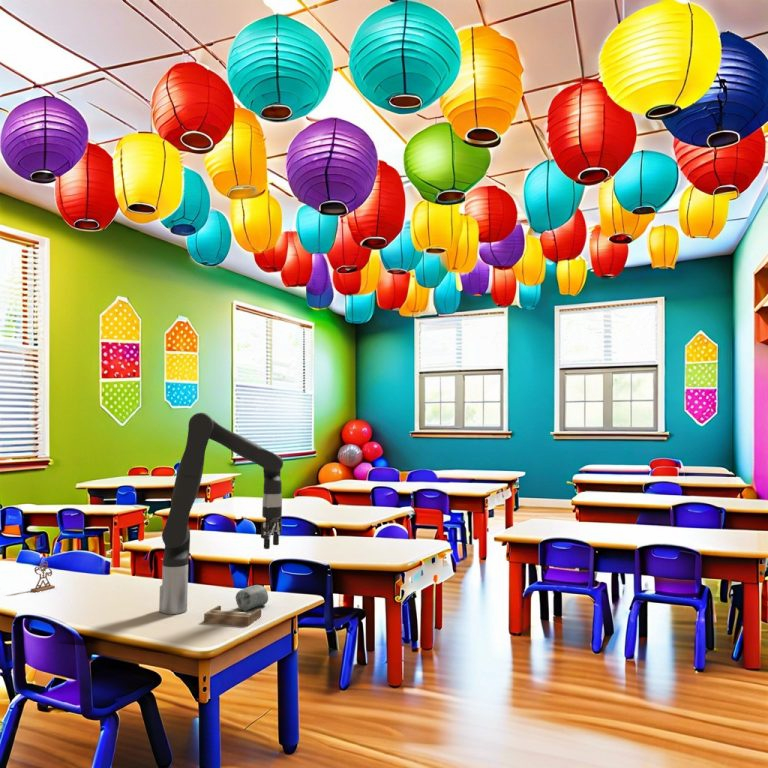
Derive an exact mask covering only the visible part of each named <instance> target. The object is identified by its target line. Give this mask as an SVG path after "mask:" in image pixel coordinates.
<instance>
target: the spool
mask: <svg viewBox="0 0 768 768" xmlns="http://www.w3.org/2000/svg"><path fill="white" fill-rule="evenodd" d="M268 593H269V592H268V591H267V589H266V587H265V586H263V585H260V584H254V585H251V586H247V587H245V588H243V589H241V590H239V591H237V592H236V595H235V602H236V605H237V607H238V608H239V609H240V610H241V611H242V612H243V611H244V612H246V611H247V612H248V611H249V610H251V609H254V608H259V607H262V606H264V605H266V604H267V603H268V601H269V594H268Z"/></svg>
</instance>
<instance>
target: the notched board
mask: <svg viewBox="0 0 768 768" xmlns="http://www.w3.org/2000/svg"><path fill="white" fill-rule="evenodd" d="M260 617H261V618H262V608H258V609H256V610H254V611H252V612H251V613H249V614H248V613H247V612H246V611H244V612H243V611H242V612H240V611H228V610H222V605H217V606H216V607H213V608H211V609H210V610H208V611H206V612H205V613H204V614H203V623H209V624H220V625H234V626H243V627H244V626H247V627H248V626H251V624H254V623H255V622H257V619H258V620H259V619H261V618H260ZM254 621H255V622H254Z"/></svg>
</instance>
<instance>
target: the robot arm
mask: <svg viewBox="0 0 768 768" xmlns="http://www.w3.org/2000/svg"><path fill="white" fill-rule="evenodd" d="M187 426H188V429H187V438H186V445H185V448H184V452H183V454H182V457H181V459H180V461H179V465H178V468H177V472H176V476H175V480H174V485H173V491H172V496H171V501H170V502H171V503H170V509H169V512H168V516H167V519H166V521H165V523H164V527H163V529H162V533H161V539H162V542H163V543H164V554H163V557H162V579H161V581H162V582H161V585H160V586H159V607H158V610H159V611H158V612H159V613H162V614H166V615H178V614H183V613H185V612H187V611H188V588H189V558H190V551H191V550H190V549H191V548H190V547H191V546H190V545H191V544H190V543H191V531H190V527H189V525H188V524H189V520H190V519H189V518H190V514H191V510H192V508H193V507H194V506H193V505H194V503H195V500H196V499H197V495H198V493H199V490H200V487H201V482H202V477H203V471H204V466H205V457H206V456H205V455H206V449H207V446H208V444H209V440H212V441H214V442H216V443H218V444H220V445H222V446H224V447H225V448H226V449H228V450H229V451H231V452H232V453H235V454H236V455H238V456H240V457H242V458H243V459H245V460H247V461H249V462H252V463H255V464H256V465H258V466H260V467H261V468H263V496H262V511H261V513H262V514H261V515H262V518H264V519H265V521H263V522H261V527H260V529H261V530H260V532H261V533H260V538H261V539H263V549H264V550H269V549H270V547H271V536H272V545H273V546H279V543H280V535H281V534H282V533H283V521H282V520H283V518H282V516H283V496H282V487H283V486H282V485H283V484H282V479H281V470H282V468H283V466H284V460H283V458H282V457H281V456H280V455H278V454H276V453H274V452H272V451H270V450H269V449H265V448H264V447H262V446H261V445H259V444H258V443H256V442H254V441H252V440H250V439H248V438H246V437H244V436H242V435H240V434H237V433H235V432H233V431H231V430H229V429H227V428H225V427H224V426H222V425H221V424H219V423H218V422H217V421H216V420H214V419H213V418H212V417H211V415H209V414H208V413H206V412H197V413H195V414H193V415H192V416H191V417H190V419H189V421H188V425H187Z"/></svg>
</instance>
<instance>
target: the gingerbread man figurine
mask: <svg viewBox="0 0 768 768" xmlns="http://www.w3.org/2000/svg"><path fill="white" fill-rule="evenodd" d="M44 562H45V563H44ZM48 566H49V564H48V561H46V560H42V561H41V562H40V563H39V566H35V567H34V573H35V574H36V575H39V579H38V581H37V583H36V585H35V587H34V588H30V592H31V593H35V592H37V593H41V592H45V591H50V590H52V589H55V588H56V586H55V585H52V584H51V583H50V581H49V579H48V577H51V576H52V575H53V570H52V569H51V568H48ZM47 569H48V570H49V572H48V571H47ZM38 571H41V573H38ZM46 571H47V572H46ZM44 579H45V580H46V582H47V583H46V582H45V580H44ZM41 580H42V581H41ZM40 582H41V583H40ZM42 585H43V586H42ZM40 591H41V592H40Z"/></svg>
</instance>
